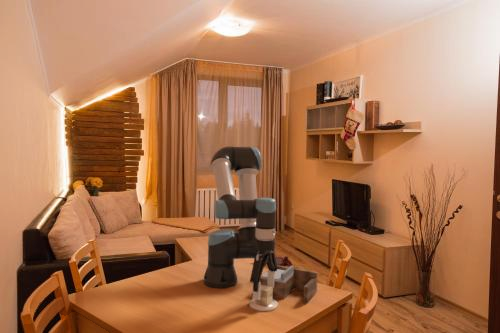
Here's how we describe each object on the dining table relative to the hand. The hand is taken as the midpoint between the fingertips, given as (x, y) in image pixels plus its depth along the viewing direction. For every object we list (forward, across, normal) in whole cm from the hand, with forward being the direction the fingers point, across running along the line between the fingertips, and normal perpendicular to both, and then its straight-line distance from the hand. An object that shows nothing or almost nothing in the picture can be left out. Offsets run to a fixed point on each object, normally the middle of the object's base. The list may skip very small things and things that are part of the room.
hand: (263, 293), depth 141 cm
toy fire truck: (+5, +31, +5) cm, 32 cm away
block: (+4, 0, 0) cm, 4 cm away
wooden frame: (+5, +16, -4) cm, 18 cm away
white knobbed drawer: (-2, +16, 0) cm, 16 cm away
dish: (+5, 0, 0) cm, 5 cm away
